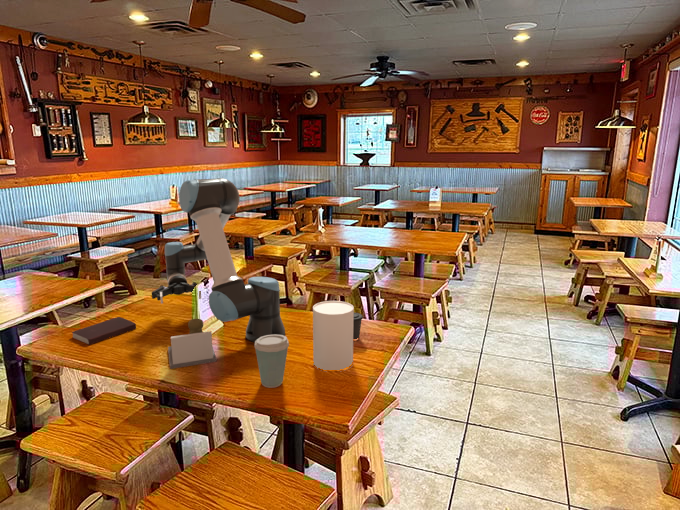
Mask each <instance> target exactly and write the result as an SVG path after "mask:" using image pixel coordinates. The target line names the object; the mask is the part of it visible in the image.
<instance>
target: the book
mask: <svg viewBox="0 0 680 510" xmlns="http://www.w3.org/2000/svg"><path fill="white" fill-rule="evenodd" d="M133 329H134V330H136V329H137V324H136V323H135V322H133V321H131V320H129V319H126V318H124V317H121V316H117V317H113V318H110V319H107V320H105V321H102V322H98V323H95V324H91V325H90V326H86V327H83V328H79V329H76V330H74V331H72V332H71V333H72V337H71V338H73V339H75V340H78V341H80V342H83V343H85V344H87V345H88V346H90V345H93V344H95V343H98V342H102V341H104V339H105V340H108V339H110V338H109V337H111V338H113V337H112V336H114V337H116V336H119V335H122V334H124V332H125V333H127V331H128V332H131V331H133ZM130 330H131V331H130ZM121 333H122V334H121ZM107 338H108V339H107Z"/></svg>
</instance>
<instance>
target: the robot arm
mask: <svg viewBox="0 0 680 510" xmlns="http://www.w3.org/2000/svg"><path fill="white" fill-rule="evenodd" d="M178 196H179V197H178V202H179V206H180V209H181V210H182V211H183V212H184V213H186V214H187V213H188V214H189V217H190V219H191V220H193V221H194V222H195V223H196V226H197V229H198V230H197V231H198V233H199V236H198V238H197V239H196V242H195V243H193V244H187V245H184V243H183V242H180V241H172V242H167V243H165V245H164V259H165V265H166V268H165V269H166V281H167V286H164V285H160V286H159V287H158V288H156V289H154V290H152V291H151V299H153V300H154V299H156V300H157V301H158V302H159V301H160V304H164V299H163V298H165V297H166V296H169V295H176V296H178V295H179V296H180V295H183V294H184V293H185V294H188V293H193V292H192V291H193V289H194V287H195V286H196V285H197V284H198V282H196V281H194V282H192V283H191V284H190V283H188V281H187V277H186V268H185V267H186V266H185V264H187V263H193V262H198V261H204V260H207V264H208V265H209V266H208V267H209V270H210V273H211V277H212V280H213V284H212V286H211V292H210V293H209V295H208V305H209V308H210V311H211V313H212V314H213V316H214V317H215V319H217V320H219V321H220V322H223V323H226V322H227V323H228V322H231V321H236V320H239V319H241V318H244V317H245V318H246V317H249V319H248V322H247V326H246V329H245V338H246V340H248V341H249V342H253V343H255V341H256V340H257V339H258V338H260V337H262V336H266V335H274V334H276V335H283V336H286V329H285V325H284V323H283V320H282V318H281V304H280V303H281V302H280V301H281V300H280V296H281V295H280V291H281V290H280V283H279V281H278V280H277V279H275V278H272V277H267V276H252V277H249V278H248V280H247V283H245V282H244V280H243V277H241V276H238V274H237V271H236V268H235V264H234V261H233V257H232V254H231V251H230V248H229V244H228V241H227V237H226V233H225V231H224V228H225V226H226V224H227V223H228V222H229V221H228V220H229V219H230V217H231V216H232V215H234V214H235V213H236V211H237V209H238V208H239V205H240V192H239V190H238V188H237V187H236V185H235V183H233V182H232V181H230V180H228V179H227V178H223V177H219V178H198V179H197V178H193V179H188V180H185V181H184V182H182V184H181V186H180V189H179V194H178ZM198 299H199V300H201V299H202V295H201V291H199V297H198Z"/></svg>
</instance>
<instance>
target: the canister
mask: <svg viewBox="0 0 680 510" xmlns="http://www.w3.org/2000/svg"><path fill="white" fill-rule="evenodd" d="M354 309H355V308H354V305H353V304H351V303H349V302H347V301H341V300H326V301H321V302H317V303H315V304H314V305H313V306H312V333H313V334H312V335H313V336H312V342H313V343H312V344H313V345H312V346H313V349H312V350H313V353H312V355H313V357H312V358H313V360H312V361H313V362H314V363H313V366H314V365H315V366H316V367H317V368H316V367H315V366H314V367H315V368H316V369H318V368H320V369H323V370H340V369H344V368H346V367H349V366H350V365H351V364H352V362H353V363H354V341H353V318H354V313H355V312H354V311H355V310H354Z"/></svg>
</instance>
